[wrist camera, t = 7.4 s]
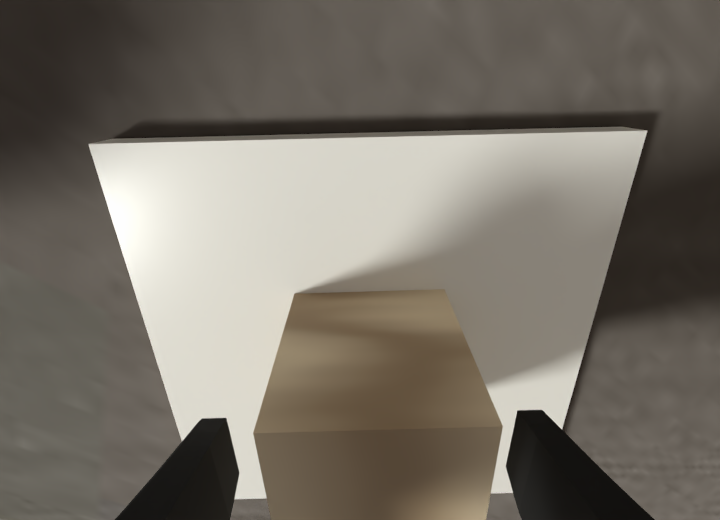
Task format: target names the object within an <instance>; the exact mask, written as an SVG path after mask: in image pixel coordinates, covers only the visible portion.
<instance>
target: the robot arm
mask: <svg viewBox="0 0 720 520" xmlns="http://www.w3.org/2000/svg"><path fill="white" fill-rule="evenodd" d="M506 469H507V473H508V477H509V480H510V484H511V487H512V491H513V494H514V497H515V501H516V504H517V507H518V510H519V513H520V516H521V518H522V520H654V519H653V518H652V517H651V516H650V515H649V514H648V513H647V512H646V511H645V510H644V509H643V508H641V507H640V506H639V505H638V504H637V503H636V502H635V501H634V500H633V499H632V498H631V497H630V496H629V495H628V494H627V493H626V492H625V491H623V490H622V489H621V488H620V487H619V486H618V485H617V484H616V483H615V482H614V481H613V480H612V479H611V478H610V477H609V476H608V475H607V474H606V473H605V472H604V471H603V470H602V469H601V468H600V467H599V466H598V465H597V464H596V463H595V462H594V461H593V460H592V459H591V458H590V457H589V456H588V455H587V454H586V453H585V452H584V451H583V450H582V449H581V448H580V447H579V446H578V445H577V444H576V443H575V442H574V441H573V440H572V439H571V438H570V437H569V436H568V435H567V434H566V433H565V432H564V431H563V430H562V429H561V428H560V427H559V426H558V425H557V424H556V423H555V422H554V421H553V420H552V419H551V418H550V417H549V416H548V415H547V414H546V413H545V412H544V411H543V410H517V415H516V419H515V424H514V429H513V434H512V438H511V443H510V448H509V453H508V457H507V462H506ZM238 478H239V469H238V465H237V461H236V456H235V452H234V448H233V444H232V439H231V435H230V431H229V427H228V422H227V418H202V419H201V420H200V421H199V422H198V423H197V424H196V425H195V426H194V428H193V429H192V430H191V431H190V432H189V434H188V435H187V436H186V437H185V439H184V440H183V441H182V442H181V443H180V445H179V446H178V447H177V448H176V450H175V451H174V452H173V453H172V454H171V456H170V457H169V458H168V459H167V460H166V462H165V463H164V464H163V465H162V466H161V467H160V469H159V470H158V471H157V472H156V473H155V475H154V476H153V477H152V478H151V479H150V480H149V481H148V483H147V484H146V485H145V486H144V487H143V488H142V490H141V491H140V492H139V493H138V494H137V495H136V496H135V498H134V499H133V500H132V501H131V502H130V503H129V504H128V506H127V507H126V508H125V509H124V510H123V511H122V512H121V513H120V515H119V516H118V517H117V518H116V519H115V520H230V516H231V512H232V507H233V503H234V498H235V493H236V488H237V483H238Z"/></svg>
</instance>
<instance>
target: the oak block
mask: <svg viewBox="0 0 720 520" xmlns="http://www.w3.org/2000/svg"><path fill="white" fill-rule="evenodd" d="M502 429H503V426H502V423H501V421H500V418H499V416H498V414H497V411H496V409H495V407H494V404H493V402H492V400H491V397H490V395H489V393H488V390H487V388H486V386H485V383H484V381H483V379H482V376H481V374H480V372H479V369H478V367H477V365H476V362H475V360H474V358H473V355H472V353H471V350H470V348H469V346H468V343H467V341H466V339H465V336H464V334H463V332H462V329H461V327H460V325H459V322H458V320H457V318H456V315H455V313H454V311H453V308H452V306H451V304H450V301H449V299H448V297H447V294H446V292H445V290H444V289H435V290H401V291H367V292H332V293H298V294H294V297H293V300H292V303H291V307H290V310H289V314H288V317H287V320H286V324H285V327H284V331H283V334H282V337H281V341H280V344H279V347H278V351H277V354H276V358H275V361H274V364H273V368H272V371H271V375H270V378H269V381H268V385H267V388H266V391H265V395H264V398H263V402H262V405H261V408H260V412H259V415H258V419H257V422H256V425H255V429H254V432H253V435H254V440H255V445H256V449H257V454H258V459H259V464H260V469H261V473H262V478H263V483H264V488H265V493H266V497H267V502H268V507H269V512H270V516H271V520H486V516H487V511H488V505H489V500H490V494H491V489H492V483H493V478H494V472H495V467H496V461H497V456H498V451H499V445H500V440H501V434H502Z"/></svg>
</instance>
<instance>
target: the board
mask: <svg viewBox="0 0 720 520" xmlns="http://www.w3.org/2000/svg"><path fill="white" fill-rule="evenodd" d="M646 134H647V130H640V129H634V128H628V127H580V128H539V129H497V130H455V131H414V132H372V133H331V134H289V135H247V136H206V137H164V138H122V139H108V140H104V141H100V142H95V143H91V144H88V145H89V148H90V151H91V154H92V158H93V161H94V164H95V167H96V170H97V173H98V177H99V180H100V183H101V186H102V189H103V192H104V196H105V199H106V202H107V205H108V208H109V211H110V215H111V218H112V221H113V224H114V227H115V231H116V234H117V237H118V240H119V243H120V246H121V250H122V253H123V256H124V259H125V262H126V265H127V269H128V272H129V275H130V278H131V281H132V284H133V288H134V291H135V294H136V297H137V300H138V303H139V307H140V310H141V313H142V316H143V319H144V322H145V326H146V329H147V332H148V335H149V338H150V341H151V345H152V348H153V351H154V354H155V357H156V361H157V364H158V367H159V370H160V373H161V376H162V380H163V383H164V386H165V389H166V392H167V395H168V399H169V402H170V405H171V408H172V411H173V414H174V418H175V421H176V424H177V427H178V430H179V433H180V437H181V440H182V441H183V440H184V439H185V437H186V436H187V435H188V434H189V432H190V431H191V430H192V429H193V428H194V426H195V425H196V424H197V423H198V422H199V421H200V420H201V419H202V418H227V422H228V427H229V431H230V435H231V439H232V444H233V448H234V452H235V456H236V461H237V465H238V469H239V478H238V483H237V488H236V493H235V498H234V499H257V498H267V497H266V493H265V488H264V483H263V478H262V473H261V469H260V464H259V459H258V454H257V449H256V445H255V440H254V435H253V432H254V429H255V425H256V422H257V419H258V415H259V412H260V408H261V405H262V402H263V398H264V395H265V391H266V388H267V385H268V381H269V378H270V375H271V371H272V368H273V364H274V361H275V358H276V354H277V351H278V347H279V344H280V341H281V337H282V334H283V331H284V327H285V324H286V320H287V317H288V314H289V310H290V307H291V303H292V300H293V297H294V294H298V293H332V292H367V291H401V290H435V289H444V290H445V292H446V294H447V297H448V299H449V301H450V304H451V306H452V308H453V311H454V313H455V315H456V318H457V320H458V322H459V325H460V327H461V329H462V332H463V334H464V336H465V339H466V341H467V343H468V346H469V348H470V350H471V353H472V355H473V358H474V360H475V362H476V365H477V367H478V369H479V372H480V374H481V376H482V379H483V381H484V383H485V386H486V388H487V390H488V393H489V395H490V397H491V400H492V402H493V404H494V407H495V409H496V411H497V414H498V416H499V418H500V421H501V423H502V426H503V429H502V434H501V440H500V445H499V451H498V456H497V461H496V467H495V472H494V478H493V483H492V489H491V493H513V491H512V487H511V484H510V480H509V477H508V473H507V469H506V462H507V457H508V453H509V448H510V443H511V438H512V434H513V429H514V424H515V419H516V415H517V410H543V411H544V412H545V413H546V414H547V415H548V416H549V417H550V418H551V419H552V420H553V421H554V422H555V423H556V424H557V425H558V426H559V427H560V428H561V429H562V428H563V424H564V421H565V417H566V414H567V410H568V407H569V403H570V400H571V396H572V393H573V389H574V386H575V382H576V379H577V375H578V372H579V368H580V365H581V361H582V358H583V354H584V351H585V347H586V344H587V340H588V337H589V333H590V330H591V326H592V323H593V319H594V316H595V312H596V309H597V305H598V302H599V298H600V295H601V291H602V288H603V284H604V281H605V277H606V274H607V270H608V267H609V263H610V260H611V256H612V253H613V249H614V246H615V242H616V239H617V235H618V232H619V228H620V225H621V221H622V218H623V214H624V211H625V207H626V204H627V200H628V197H629V193H630V190H631V186H632V183H633V179H634V176H635V172H636V169H637V165H638V162H639V158H640V155H641V151H642V148H643V144H644V141H645V137H646Z"/></svg>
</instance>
